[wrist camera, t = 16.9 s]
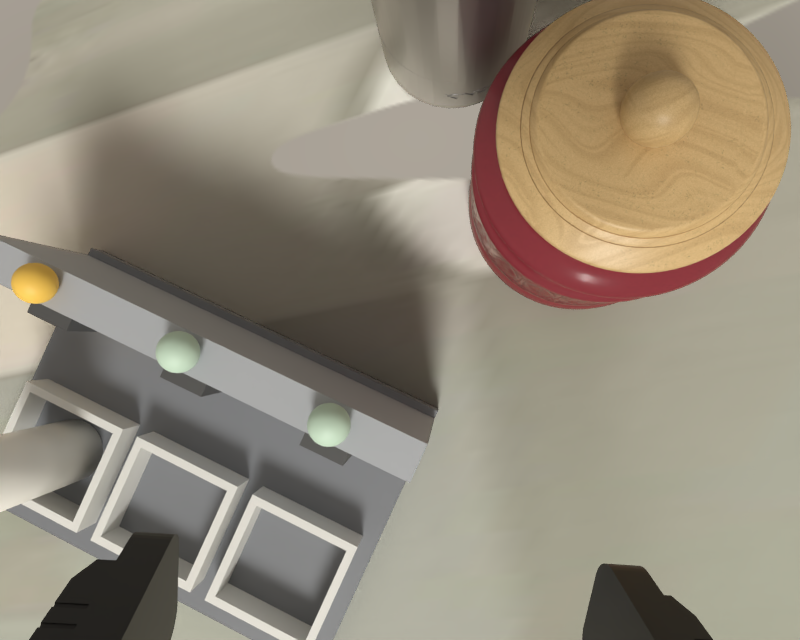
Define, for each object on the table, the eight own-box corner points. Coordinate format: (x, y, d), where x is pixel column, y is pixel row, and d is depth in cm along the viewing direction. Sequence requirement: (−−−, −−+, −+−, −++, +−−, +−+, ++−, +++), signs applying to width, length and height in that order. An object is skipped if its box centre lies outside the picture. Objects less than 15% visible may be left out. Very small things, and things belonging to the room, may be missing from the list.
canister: (427, 232, 38) (403, 143, 21) (547, 67, 38) (625, -165, 20) (595, 352, 37) (720, 364, 20) (721, 182, 37) (963, 41, 19)
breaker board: (-7, 491, 41) (-199, 555, 29) (101, 250, 40) (-47, 214, 28) (321, 663, 38) (260, 812, 26) (438, 408, 38) (430, 441, 26)
